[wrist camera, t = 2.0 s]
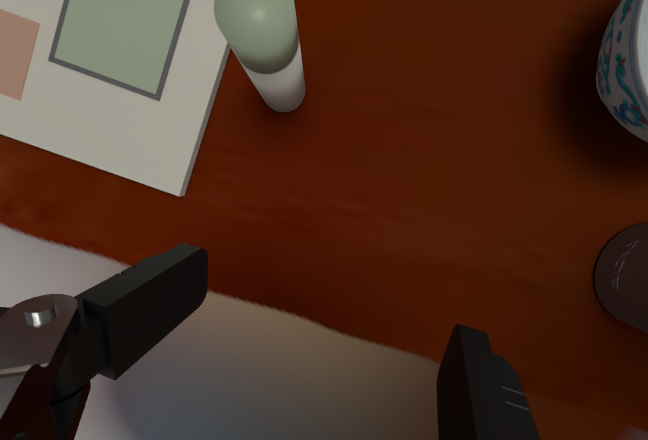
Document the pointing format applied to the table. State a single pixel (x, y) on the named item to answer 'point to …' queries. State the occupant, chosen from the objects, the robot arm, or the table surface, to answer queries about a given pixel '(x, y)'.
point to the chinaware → (626, 67)
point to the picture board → (112, 82)
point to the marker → (266, 47)
